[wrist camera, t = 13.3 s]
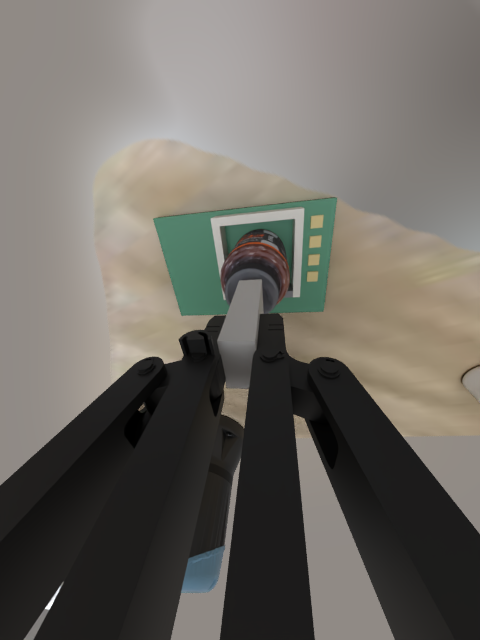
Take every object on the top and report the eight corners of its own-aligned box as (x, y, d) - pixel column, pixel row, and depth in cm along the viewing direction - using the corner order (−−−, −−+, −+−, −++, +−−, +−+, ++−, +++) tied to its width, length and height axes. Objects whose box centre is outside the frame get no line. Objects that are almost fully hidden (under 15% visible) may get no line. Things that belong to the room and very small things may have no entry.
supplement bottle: (263, 215, 22) (257, 232, 12) (295, 257, 24) (312, 300, 14) (224, 252, 25) (195, 289, 15) (256, 288, 26) (248, 341, 17)
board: (184, 311, 31) (174, 324, 28) (158, 217, 25) (141, 221, 22) (321, 307, 28) (328, 321, 25) (333, 197, 21) (344, 198, 18)
